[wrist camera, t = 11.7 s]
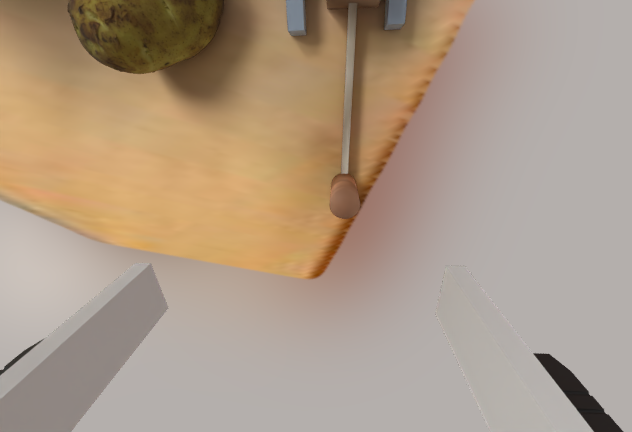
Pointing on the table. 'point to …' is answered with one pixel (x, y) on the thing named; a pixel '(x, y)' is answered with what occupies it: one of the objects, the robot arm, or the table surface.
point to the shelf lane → (297, 16)
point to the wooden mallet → (347, 118)
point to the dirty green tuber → (144, 31)
